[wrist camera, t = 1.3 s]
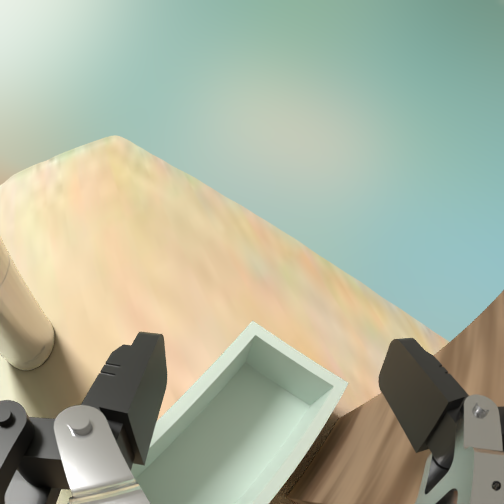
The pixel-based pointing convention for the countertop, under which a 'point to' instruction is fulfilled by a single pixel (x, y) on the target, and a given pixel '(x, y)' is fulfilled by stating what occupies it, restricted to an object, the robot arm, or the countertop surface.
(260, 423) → the sage bin
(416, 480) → the walnut stand
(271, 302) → the countertop surface
